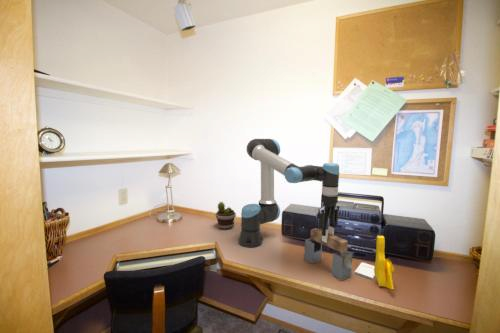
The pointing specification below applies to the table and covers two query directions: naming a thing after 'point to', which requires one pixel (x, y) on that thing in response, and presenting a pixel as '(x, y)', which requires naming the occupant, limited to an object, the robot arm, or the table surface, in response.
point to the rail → (330, 240)
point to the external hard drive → (365, 271)
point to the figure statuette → (383, 266)
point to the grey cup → (342, 265)
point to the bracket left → (312, 251)
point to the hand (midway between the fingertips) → (327, 240)
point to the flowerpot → (225, 217)
